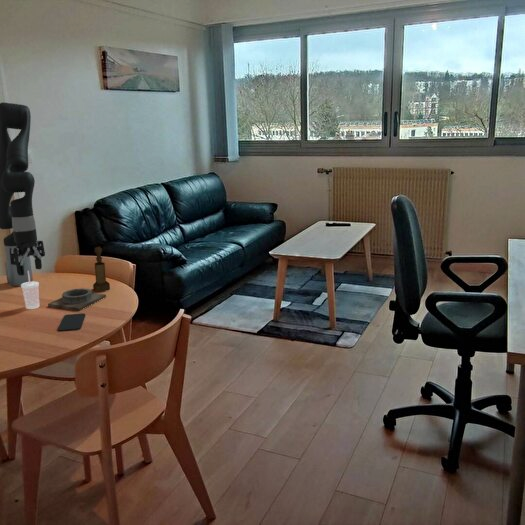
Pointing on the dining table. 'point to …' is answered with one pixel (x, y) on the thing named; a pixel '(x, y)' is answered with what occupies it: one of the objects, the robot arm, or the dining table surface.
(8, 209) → the robot arm
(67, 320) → the phone
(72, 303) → the ring holder
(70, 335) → the dining table surface
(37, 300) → the beverage cup
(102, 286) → the pepper mill
